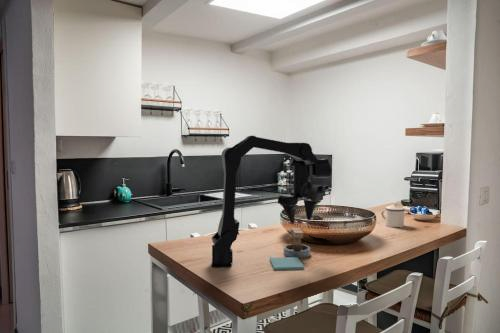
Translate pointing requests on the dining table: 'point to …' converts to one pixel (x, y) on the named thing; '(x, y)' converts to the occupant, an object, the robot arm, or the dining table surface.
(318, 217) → the lighter
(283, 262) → the rubber mat
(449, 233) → the dining table surface
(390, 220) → the teacup with lid
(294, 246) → the t key
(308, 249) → the ring socket
